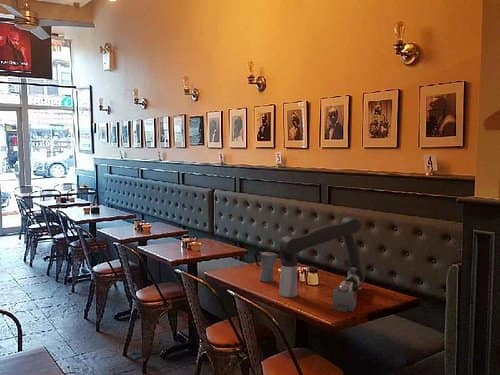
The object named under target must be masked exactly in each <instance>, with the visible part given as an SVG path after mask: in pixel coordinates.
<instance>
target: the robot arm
mask: <svg viewBox="0 0 500 375" xmlns="http://www.w3.org/2000/svg"><path fill="white" fill-rule="evenodd" d="M361 229H362V222H361V220H359V219H358V218H355V217H351V216H346V217H343V218H342V220H341V221H340V223H339V224H332V225H331V224H330V225H324V226H320V227H317V228H314V229H312V230H311V231H310V232H308V233H307V234H305V235H303V236H299V237H298V236H297V237H292V236H289V235H286V236H282V238H281V239H280V242H279V260H280V278H279V287H278V289H279V291H278V292H279V293H278V296H280V297H284V298H296V297H297V296H298V293H297V292H298V260H297V258H296V256H295V254H298V253H300V252H303V251H304V250H306V249H307V250H308V248H311V247H315V246H319V245H322V244H325V243H328V242H331V241H333V240H336V239H339V238H342V237H343V238H344V239H343V240H344V243H345V246H346V253H347V260H348V261H347V263H348V266H349V267H350V268H354V269H350V270H348V271H347V274H346V277H347V278H346V279H345V280H344V281H349V282H353V283H352V291H353V292H354V293H355V292H359V291H362V285H360V282H364V281H365V279H366V274H365V271H364V269H363V267H362V264H361V256H360V251H359V248H358V246H357V244H356V241H355V239H354V234H357V233H359V232H360V231H361ZM341 283H342V282H341ZM341 283H338V286H339V285H340V284H341Z"/></svg>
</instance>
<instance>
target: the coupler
mask: <svg viewBox="0 0 500 375" xmlns="http://www.w3.org/2000/svg"><path fill="white" fill-rule="evenodd" d="M356 306H357V294H355V292H353V291H348V286H346V285H340V286H339V285H338V289H334V288H333V290H332V308H331V309H332V310H336V311H337V312H343V313H347V312H351V311H352V312H354V310H355V309H354V308H356Z"/></svg>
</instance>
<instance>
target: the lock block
mask: <svg viewBox="0 0 500 375" xmlns="http://www.w3.org/2000/svg"><path fill="white" fill-rule="evenodd" d="M352 283H353V282H349V281H345V280H342V282H341V284H340V285H346V286H348V291H352ZM340 285H339V284H338V287H339V286H340Z"/></svg>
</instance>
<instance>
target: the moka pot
mask: <svg viewBox="0 0 500 375" xmlns="http://www.w3.org/2000/svg"><path fill="white" fill-rule="evenodd" d="M257 255H258V256H260V259H261V261H260V262H261V263H260V264H261V265H260V264H259V262H258V256H257ZM253 256H254V259H255V264H256V266H257V267H261V271H260V275H259V281H260V282H263V283H273V282H274V267H275V262H276V260H277V259H278V257H279V254H276V253H275V252H271V249H267V251H264V252H261V251H256V253H255V254H254V255H253Z"/></svg>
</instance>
